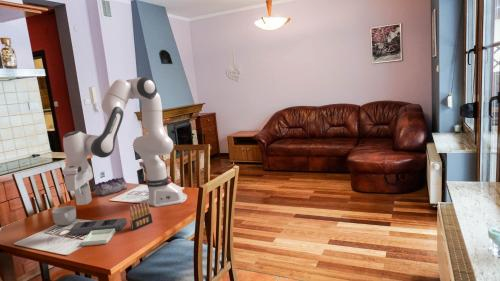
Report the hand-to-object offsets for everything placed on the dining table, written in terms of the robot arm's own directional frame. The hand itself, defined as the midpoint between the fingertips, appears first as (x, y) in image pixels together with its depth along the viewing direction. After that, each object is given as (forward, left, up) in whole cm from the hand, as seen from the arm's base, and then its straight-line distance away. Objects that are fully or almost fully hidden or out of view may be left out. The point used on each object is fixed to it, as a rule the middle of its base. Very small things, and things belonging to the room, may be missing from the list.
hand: (83, 193), depth 161 cm
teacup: (+16, -10, -19) cm, 27 cm away
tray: (-9, +11, -19) cm, 24 cm away
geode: (+10, -58, -19) cm, 62 cm away
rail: (-5, 0, -19) cm, 20 cm away
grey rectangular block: (0, 0, -5) cm, 5 cm away
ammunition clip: (-26, +1, -19) cm, 32 cm away
